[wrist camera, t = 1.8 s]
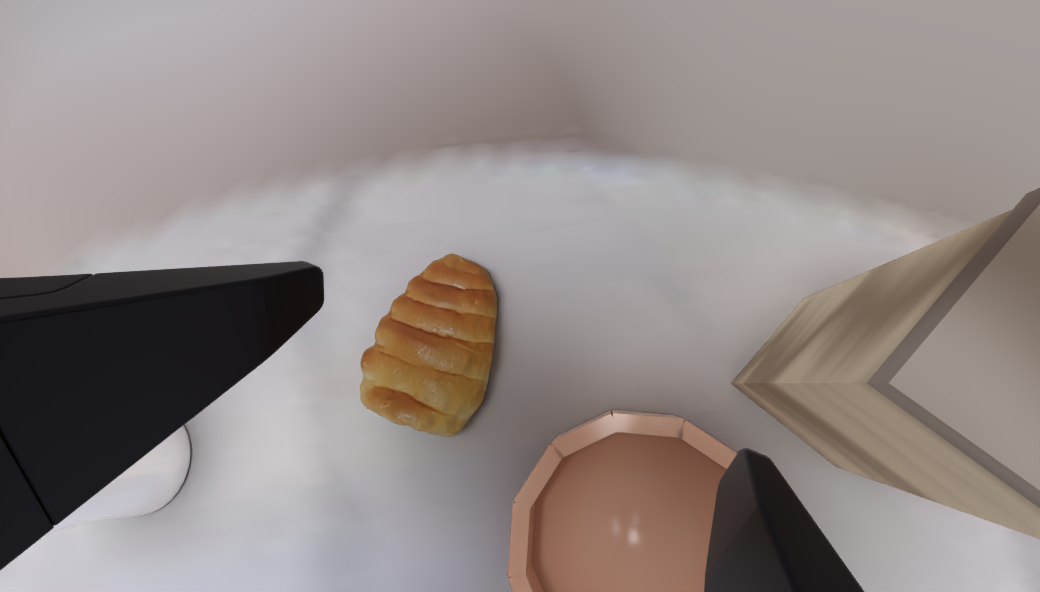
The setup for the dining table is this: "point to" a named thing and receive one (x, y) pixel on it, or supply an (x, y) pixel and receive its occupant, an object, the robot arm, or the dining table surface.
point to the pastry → (434, 349)
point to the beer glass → (138, 485)
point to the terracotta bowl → (618, 507)
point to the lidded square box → (924, 371)
